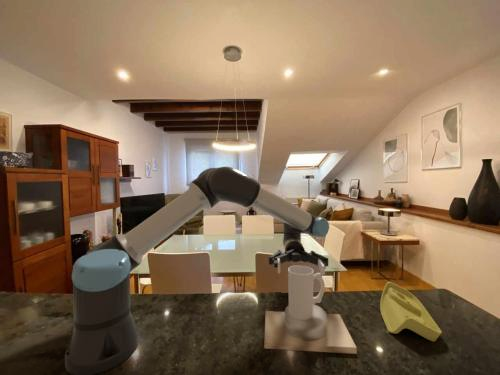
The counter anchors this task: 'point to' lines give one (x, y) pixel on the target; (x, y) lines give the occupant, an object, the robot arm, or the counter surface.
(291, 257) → the robot arm
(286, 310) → the board with round cheese
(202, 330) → the counter surface
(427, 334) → the plastic component
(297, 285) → the mug
